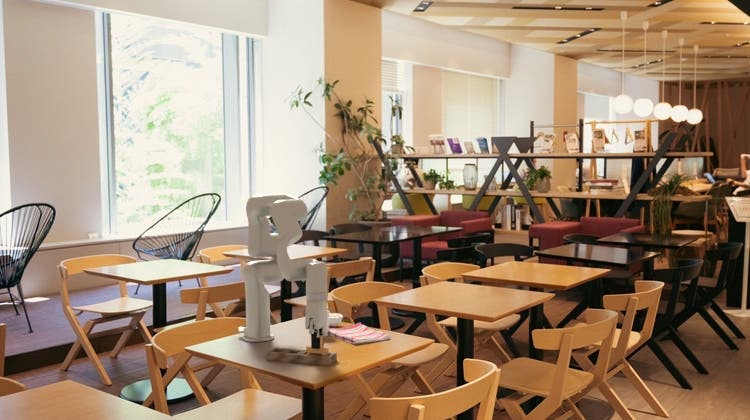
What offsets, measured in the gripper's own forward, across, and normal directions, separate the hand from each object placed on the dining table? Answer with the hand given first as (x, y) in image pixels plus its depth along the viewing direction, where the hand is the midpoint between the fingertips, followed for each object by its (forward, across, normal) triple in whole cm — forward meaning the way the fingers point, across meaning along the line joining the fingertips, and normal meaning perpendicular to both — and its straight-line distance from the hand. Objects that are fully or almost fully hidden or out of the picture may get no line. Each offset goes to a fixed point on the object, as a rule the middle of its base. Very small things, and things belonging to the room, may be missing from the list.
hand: (317, 347), depth 257 cm
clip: (+5, 0, 0) cm, 5 cm away
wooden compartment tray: (+5, 0, -6) cm, 8 cm away
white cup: (+6, -37, -14) cm, 40 cm away
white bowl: (+6, -53, -16) cm, 56 cm away
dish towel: (+6, -39, +2) cm, 40 cm away
